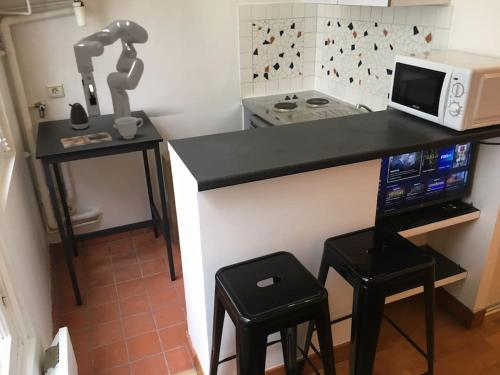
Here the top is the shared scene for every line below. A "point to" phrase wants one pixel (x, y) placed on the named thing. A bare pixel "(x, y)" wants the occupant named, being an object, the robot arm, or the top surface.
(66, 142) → the beige flat rectangular frame
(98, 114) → the travel mug
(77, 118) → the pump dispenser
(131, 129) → the teacup
